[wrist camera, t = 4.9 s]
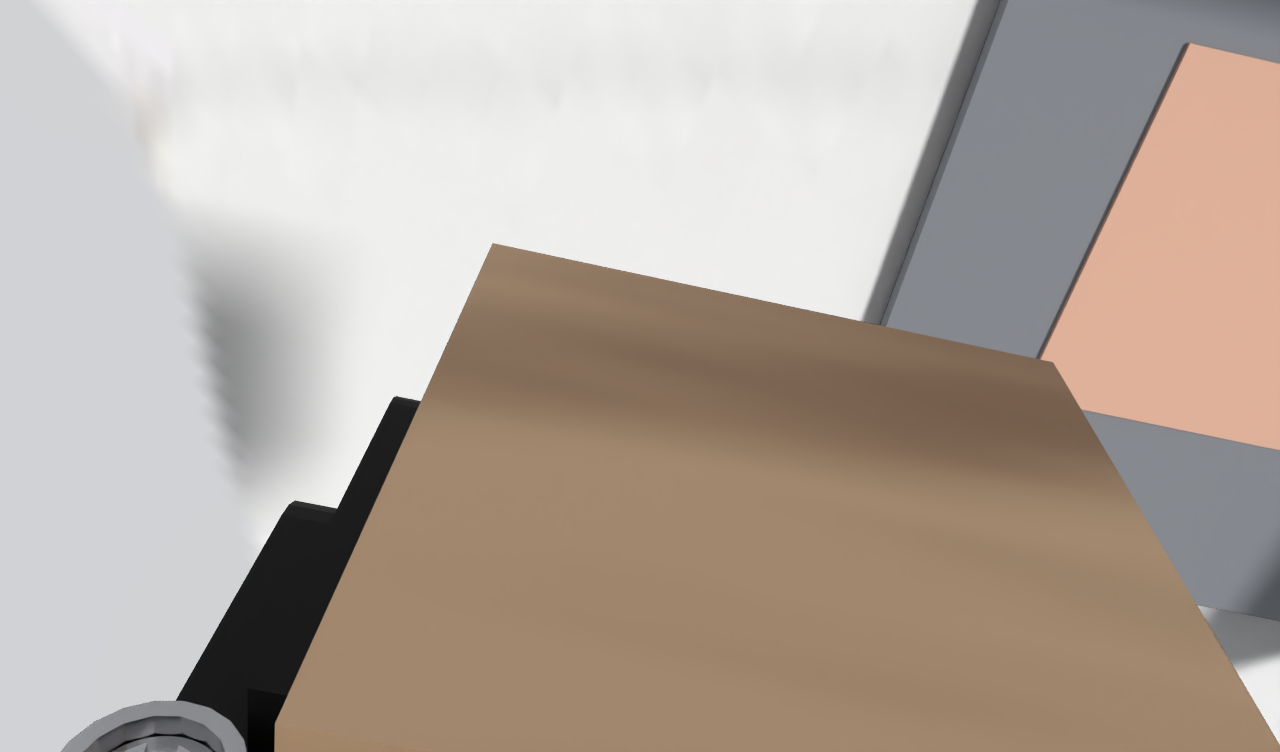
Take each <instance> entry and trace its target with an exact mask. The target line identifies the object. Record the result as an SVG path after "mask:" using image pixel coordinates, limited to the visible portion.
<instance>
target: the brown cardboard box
mask: <svg viewBox="0 0 1280 752" xmlns="http://www.w3.org/2000/svg"><path fill="white" fill-rule="evenodd" d="M274 752H1280V745H1279V743H1278V741H1277V740H1276V738H1275V736H1274V735H1273V733H1272V731H1271V729H1270V728H1269V726H1268V724H1267V723H1266V721H1265V719H1264V718H1263V716H1262V714H1261V713H1260V711H1259V709H1258V707H1257V706H1256V704H1255V702H1254V701H1253V699H1252V697H1251V696H1250V694H1249V692H1248V691H1247V689H1246V687H1245V686H1244V684H1243V682H1242V680H1241V679H1240V677H1239V675H1238V674H1237V672H1236V670H1235V669H1234V667H1233V665H1232V664H1231V662H1230V660H1229V658H1228V657H1227V655H1226V653H1225V652H1224V650H1223V648H1222V647H1221V645H1220V643H1219V642H1218V640H1217V638H1216V636H1215V635H1214V633H1213V631H1212V630H1211V628H1210V626H1209V625H1208V623H1207V621H1206V620H1205V618H1204V616H1203V615H1202V613H1201V611H1200V609H1199V608H1198V606H1197V604H1196V603H1195V601H1194V599H1193V598H1192V596H1191V594H1190V593H1189V591H1188V589H1187V587H1186V586H1185V584H1184V582H1183V581H1182V579H1181V577H1180V576H1179V574H1178V572H1177V571H1176V569H1175V567H1174V566H1173V564H1172V562H1171V560H1170V559H1169V557H1168V555H1167V554H1166V552H1165V550H1164V549H1163V547H1162V545H1161V544H1160V542H1159V540H1158V538H1157V537H1156V535H1155V533H1154V532H1153V530H1152V528H1151V527H1150V525H1149V523H1148V522H1147V520H1146V518H1145V516H1144V515H1143V513H1142V511H1141V510H1140V508H1139V506H1138V505H1137V503H1136V501H1135V500H1134V498H1133V496H1132V495H1131V493H1130V491H1129V489H1128V488H1127V486H1126V484H1125V483H1124V481H1123V479H1122V478H1121V476H1120V474H1119V473H1118V471H1117V469H1116V467H1115V466H1114V464H1113V462H1112V461H1111V459H1110V457H1109V456H1108V454H1107V452H1106V451H1105V449H1104V447H1103V446H1102V444H1101V442H1100V440H1099V439H1098V437H1097V435H1096V434H1095V432H1094V430H1093V429H1092V427H1091V425H1090V424H1089V422H1088V420H1087V418H1086V417H1085V415H1084V413H1083V412H1082V410H1081V408H1080V407H1079V405H1078V403H1077V402H1076V400H1075V398H1074V396H1073V395H1072V393H1071V391H1070V390H1069V388H1068V386H1067V385H1066V383H1065V381H1064V380H1063V378H1062V376H1061V375H1060V373H1059V371H1058V369H1057V368H1056V366H1055V364H1054V363H1053V362H1050V361H1045V360H1040V359H1036V358H1031V357H1026V356H1021V355H1017V354H1012V353H1007V352H1003V351H998V350H993V349H988V348H984V347H979V346H974V345H970V344H965V343H960V342H955V341H951V340H946V339H941V338H937V337H932V336H927V335H922V334H918V333H913V332H908V331H904V330H899V329H894V328H889V327H885V326H880V325H875V324H871V323H866V322H861V321H857V320H852V319H847V318H842V317H838V316H833V315H828V314H824V313H819V312H814V311H809V310H805V309H800V308H795V307H791V306H786V305H781V304H776V303H772V302H767V301H762V300H758V299H753V298H748V297H743V296H739V295H734V294H729V293H725V292H720V291H715V290H710V289H706V288H701V287H696V286H692V285H687V284H682V283H677V282H673V281H668V280H663V279H659V278H654V277H649V276H644V275H640V274H635V273H630V272H626V271H621V270H616V269H611V268H607V267H602V266H597V265H593V264H588V263H583V262H579V261H574V260H569V259H564V258H560V257H555V256H550V255H546V254H541V253H536V252H531V251H527V250H522V249H517V248H513V247H508V246H503V245H498V244H494V243H493V244H492V246H491V248H490V250H489V253H488V255H487V257H486V259H485V261H484V264H483V266H482V268H481V270H480V272H479V275H478V277H477V279H476V281H475V283H474V286H473V288H472V290H471V292H470V294H469V297H468V299H467V301H466V303H465V305H464V308H463V310H462V312H461V314H460V316H459V319H458V321H457V323H456V325H455V328H454V330H453V332H452V334H451V336H450V339H449V341H448V343H447V345H446V347H445V350H444V352H443V354H442V356H441V358H440V361H439V363H438V365H437V367H436V369H435V372H434V374H433V376H432V378H431V380H430V383H429V385H428V387H427V389H426V391H425V394H424V396H423V398H422V400H421V403H420V405H419V407H418V409H417V411H416V414H415V416H414V418H413V420H412V422H411V425H410V427H409V429H408V431H407V433H406V436H405V438H404V440H403V442H402V444H401V447H400V449H399V451H398V453H397V455H396V458H395V460H394V462H393V464H392V466H391V469H390V471H389V473H388V475H387V478H386V480H385V482H384V484H383V486H382V489H381V491H380V493H379V495H378V497H377V500H376V502H375V504H374V506H373V508H372V511H371V513H370V515H369V517H368V519H367V522H366V524H365V526H364V528H363V530H362V533H361V535H360V537H359V539H358V541H357V544H356V546H355V548H354V550H353V553H352V555H351V557H350V559H349V561H348V564H347V566H346V568H345V570H344V572H343V575H342V577H341V579H340V581H339V583H338V586H337V588H336V590H335V592H334V594H333V597H332V599H331V601H330V603H329V605H328V608H327V610H326V612H325V614H324V616H323V619H322V621H321V623H320V625H319V627H318V630H317V632H316V634H315V636H314V639H313V641H312V643H311V645H310V647H309V650H308V652H307V654H306V656H305V658H304V661H303V663H302V665H301V667H300V669H299V672H298V674H297V676H296V678H295V680H294V683H293V685H292V687H291V689H290V691H289V694H288V696H287V698H286V700H285V702H284V705H283V707H282V709H281V711H280V714H279V716H278V718H277V720H276V722H275V749H274Z"/></svg>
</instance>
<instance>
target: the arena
mask: <svg viewBox="0 0 1280 752" xmlns="http://www.w3.org/2000/svg"><path fill="white" fill-rule="evenodd" d="M880 326H885V327H889V328H894V329H899V330H904V331H908V332H913V333H918V334H922V335H927V336H932V337H937V338H941V339H946V340H951V341H955V342H960V343H965V344H970V345H974V346H979V347H984V348H988V349H993V350H998V351H1003V352H1007V353H1012V354H1017V355H1021V356H1026V357H1031V358H1036V359H1040V360H1045V361H1050V362H1053V363H1054V364H1055V366H1056V368H1057V369H1058V371H1059V373H1060V375H1061V376H1062V378H1063V380H1064V381H1065V383H1066V385H1067V386H1068V388H1069V390H1070V391H1071V393H1072V395H1073V396H1074V398H1075V400H1076V402H1077V403H1078V405H1079V407H1080V408H1081V410H1082V412H1083V413H1084V415H1085V417H1086V418H1087V420H1088V422H1089V424H1090V425H1091V427H1092V429H1093V430H1094V432H1095V434H1096V435H1097V437H1098V439H1099V440H1100V442H1101V444H1102V446H1103V447H1104V449H1105V451H1106V452H1107V454H1108V456H1109V457H1110V459H1111V461H1112V462H1113V464H1114V466H1115V467H1116V469H1117V471H1118V473H1119V474H1120V476H1121V478H1122V479H1123V481H1124V483H1125V484H1126V486H1127V488H1128V489H1129V491H1130V493H1131V495H1132V496H1133V498H1134V500H1135V501H1136V503H1137V505H1138V506H1139V508H1140V510H1141V511H1142V513H1143V515H1144V516H1145V518H1146V520H1147V522H1148V523H1149V525H1150V527H1151V528H1152V530H1153V532H1154V533H1155V535H1156V537H1157V538H1158V540H1159V542H1160V544H1161V545H1162V547H1163V549H1164V550H1165V552H1166V554H1167V555H1168V557H1169V559H1170V560H1171V562H1172V564H1173V566H1174V567H1175V569H1176V571H1177V572H1178V574H1179V576H1180V577H1181V579H1182V581H1183V582H1184V584H1185V586H1186V587H1187V589H1188V591H1189V593H1190V594H1191V596H1192V598H1193V599H1194V601H1195V603H1196V604H1197V605H1201V606H1206V607H1211V608H1216V609H1221V610H1226V611H1231V612H1237V613H1242V614H1247V615H1252V616H1257V617H1262V618H1267V619H1272V620H1278V621H1280V0H1001V1H1000V3H999V6H998V9H997V12H996V14H995V17H994V20H993V22H992V25H991V28H990V30H989V33H988V36H987V38H986V41H985V44H984V47H983V49H982V52H981V55H980V57H979V60H978V63H977V65H976V68H975V71H974V74H973V76H972V79H971V82H970V84H969V87H968V90H967V92H966V95H965V98H964V100H963V103H962V106H961V109H960V111H959V114H958V117H957V119H956V122H955V125H954V127H953V130H952V133H951V135H950V138H949V141H948V144H947V146H946V149H945V152H944V154H943V157H942V160H941V162H940V165H939V168H938V170H937V173H936V176H935V179H934V181H933V184H932V187H931V189H930V192H929V195H928V197H927V200H926V203H925V205H924V208H923V211H922V214H921V216H920V219H919V222H918V224H917V227H916V230H915V232H914V235H913V238H912V240H911V243H910V246H909V249H908V251H907V254H906V257H905V259H904V262H903V265H902V267H901V270H900V273H899V275H898V278H897V281H896V284H895V286H894V289H893V292H892V294H891V297H890V300H889V302H888V305H887V308H886V310H885V313H884V316H883V319H882V321H881V324H880Z"/></svg>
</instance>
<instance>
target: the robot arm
mask: <svg viewBox="0 0 1280 752" xmlns="http://www.w3.org/2000/svg"><path fill="white" fill-rule="evenodd" d="M420 403H421V401H417V400H412V399H407V398H402V397H397V396H396V397H394V398H393V399H392V401H391V402H390V404H389V406H388V408H387V410H386V412H385V414H384V416H383V418H382V420H381V422H380V424H379V426H378V428H377V430H376V432H375V434H374V436H373V438H372V440H371V442H370V444H369V446H368V448H367V450H366V452H365V454H364V456H363V458H362V460H361V462H360V464H359V466H358V468H357V470H356V472H355V474H354V476H353V478H352V480H351V482H350V484H349V486H348V488H347V490H346V492H345V494H344V496H343V498H342V500H341V502H340V504H339V506H338V508H337V509H336V508H331V507H326V506H320V505H315V504H310V503H305V502H300V501H294V502H292V503H291V504H289V505H288V507H287V508H286V510H285V511H284V512H283V514H282V516H281V517H280V519H279V521H278V523H277V524H276V526H275V528H274V530H273V531H272V533H271V535H270V537H269V538H268V540H267V542H266V544H265V545H264V547H263V549H262V551H261V552H260V554H259V556H258V558H257V559H256V561H255V563H254V565H253V566H252V568H251V570H250V572H249V574H248V575H247V577H246V579H245V580H244V582H243V584H242V586H241V587H240V589H239V591H238V593H237V594H236V596H235V598H234V600H233V601H232V603H231V605H230V607H229V609H228V610H227V612H226V614H225V615H224V617H223V619H222V621H221V622H220V624H219V626H218V628H217V629H216V631H215V633H214V635H213V637H212V638H211V640H210V642H209V643H208V645H207V647H206V649H205V651H204V652H203V654H202V656H201V657H200V659H199V661H198V663H197V664H196V666H195V668H194V670H193V672H192V673H191V675H190V677H189V678H188V680H187V682H186V684H185V685H184V687H183V689H182V691H181V692H180V694H179V696H178V698H177V699H176V701H152V702H148V703H143V704H139V705H135V706H130V707H126V708H123V709H120V710H118V711H116V712H114V713H112V714H110V715H108V716H105V717H103V718H101V719H99V720H97V721H95V722H93V723H92V724H91V725H89V726H88V727H87V728H86V729H84V730H83V731H82V732H80V733H79V734H78V735H76V736H75V737H74V738H73V739H71V740H70V741H69V742H68V743H67V744H66V746H65V747H64V748H63V749H62V751H61V752H274V749H275V722H276V720H277V718H278V716H279V714H280V711H281V709H282V707H283V705H284V702H285V700H286V698H287V696H288V694H289V691H290V689H291V687H292V685H293V683H294V680H295V678H296V676H297V674H298V672H299V669H300V667H301V665H302V663H303V661H304V658H305V656H306V654H307V652H308V650H309V647H310V645H311V643H312V641H313V639H314V636H315V634H316V632H317V630H318V627H319V625H320V623H321V621H322V619H323V616H324V614H325V612H326V610H327V608H328V605H329V603H330V601H331V599H332V597H333V594H334V592H335V590H336V588H337V586H338V583H339V581H340V579H341V577H342V575H343V572H344V570H345V568H346V566H347V564H348V561H349V559H350V557H351V555H352V553H353V550H354V548H355V546H356V544H357V541H358V539H359V537H360V535H361V533H362V530H363V528H364V526H365V524H366V522H367V519H368V517H369V515H370V513H371V511H372V508H373V506H374V504H375V502H376V500H377V497H378V495H379V493H380V491H381V489H382V486H383V484H384V482H385V480H386V478H387V475H388V473H389V471H390V469H391V466H392V464H393V462H394V460H395V458H396V455H397V453H398V451H399V449H400V447H401V444H402V442H403V440H404V438H405V436H406V433H407V431H408V429H409V427H410V425H411V422H412V420H413V418H414V416H415V414H416V411H417V409H418V407H419V405H420Z"/></svg>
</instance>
